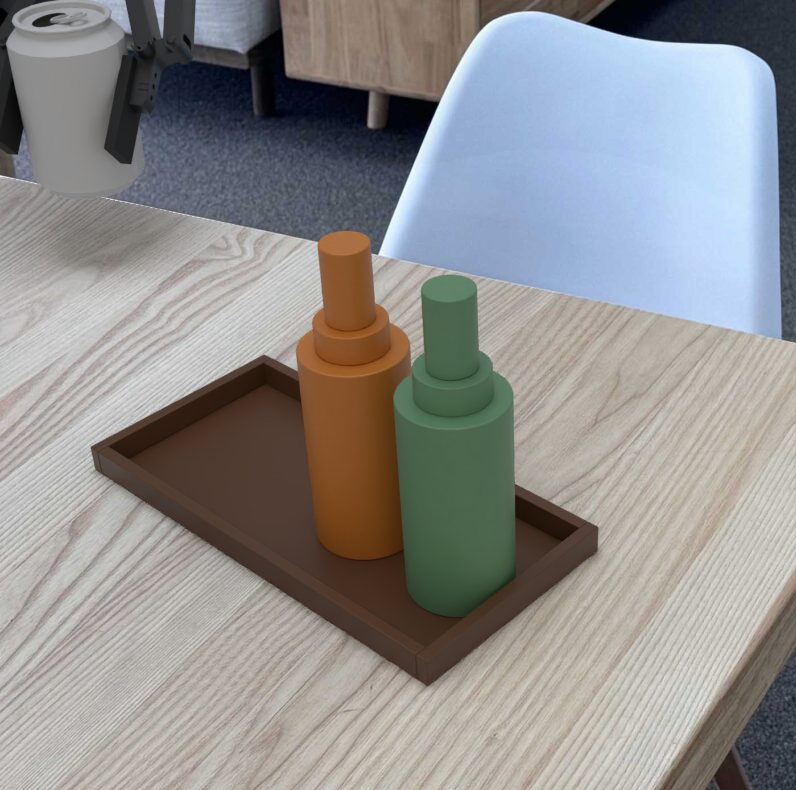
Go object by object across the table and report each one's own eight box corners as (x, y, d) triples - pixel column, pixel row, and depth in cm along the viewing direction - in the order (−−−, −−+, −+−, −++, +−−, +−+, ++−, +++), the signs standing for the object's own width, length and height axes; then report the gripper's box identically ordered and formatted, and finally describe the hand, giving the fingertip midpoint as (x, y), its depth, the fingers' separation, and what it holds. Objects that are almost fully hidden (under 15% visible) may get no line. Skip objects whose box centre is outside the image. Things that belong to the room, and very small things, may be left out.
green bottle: (383, 585, 69) (359, 291, 59) (458, 531, 72) (446, 245, 63) (464, 634, 66) (452, 333, 57) (538, 576, 69) (538, 283, 60)
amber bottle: (294, 530, 72) (258, 245, 63) (369, 482, 76) (346, 205, 66) (367, 575, 69) (341, 283, 60) (442, 522, 73) (428, 238, 63)
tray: (97, 480, 77) (89, 446, 76) (268, 385, 85) (264, 353, 84) (428, 698, 63) (426, 661, 62) (597, 561, 71) (598, 526, 70)
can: (74, 153, 101) (43, -12, 94) (167, 166, 99) (142, -1, 92) (14, 196, 95) (-24, 24, 88) (111, 211, 93) (80, 36, 87)
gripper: (-40, -201, 94) (-113, 118, 90) (246, -189, 91) (184, 142, 87) (13, -137, 102) (-52, 160, 97) (280, -124, 98) (225, 184, 94)
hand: (59, 151), depth 92 cm, fingers closed on can, 7 cm apart
